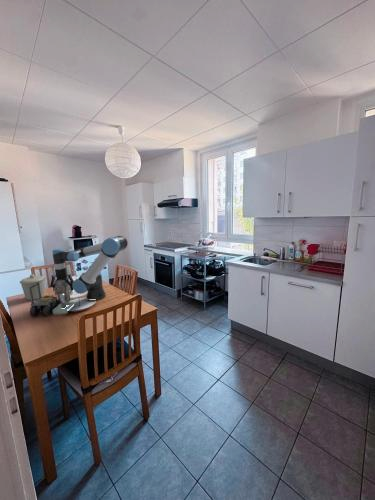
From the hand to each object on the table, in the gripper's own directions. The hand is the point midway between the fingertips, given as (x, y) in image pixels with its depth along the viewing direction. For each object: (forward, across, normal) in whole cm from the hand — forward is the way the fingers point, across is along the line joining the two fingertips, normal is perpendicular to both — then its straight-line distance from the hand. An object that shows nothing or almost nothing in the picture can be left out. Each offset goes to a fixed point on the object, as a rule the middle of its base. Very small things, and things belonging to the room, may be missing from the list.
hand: (64, 294), depth 171 cm
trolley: (+7, +6, +16) cm, 18 cm away
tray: (+7, -6, +14) cm, 17 cm away
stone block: (+7, 0, 0) cm, 7 cm away
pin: (+6, -6, +14) cm, 16 cm away
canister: (+7, +32, -15) cm, 36 cm away
